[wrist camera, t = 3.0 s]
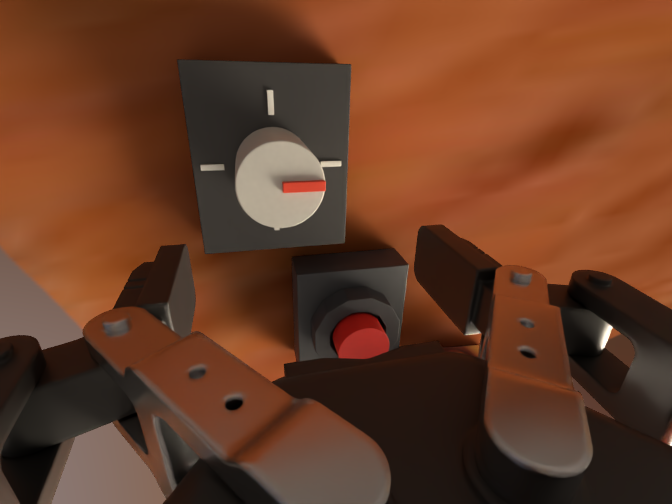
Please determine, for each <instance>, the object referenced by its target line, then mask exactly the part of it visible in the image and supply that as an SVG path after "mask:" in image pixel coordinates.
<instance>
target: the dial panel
mask: <svg viewBox="0 0 672 504" xmlns="http://www.w3.org/2000/svg"><path fill="white" fill-rule="evenodd" d="M177 63H178V70H179V77H180V84H181V91H182V98H183V105H184V112H185V119H186V126H187V133H188V140H189V146H190V153H191V160H192V167H193V174H194V181H195V188H196V195H197V202H198V209H199V216H200V223H201V230H202V237H203V244H204V251H205V254H212V253H225V252H238V251H251V250H264V249H277V248H290V247H303V246H315V245H328V244H341V243H345V228H346V199H347V171H348V142H349V114H350V85H351V64H328V63H292V62H256V61H220V60H185V59H178V60H177ZM266 127H278V128H283V129H286V130H288V131H290V132H292V133H293V134H295V135H296V136H297V137H299V138H300V140H301V141H302V142H303V143H304V144H305V145H306V146H307V148H308V149H309V150H310V151H311V152H312V153H313V154H314V156H315V157H316V158H317V159H318V161H319V162H320V164H321V166H322V169H323V172H324V176H325V181H326V191H325V192H324V196H323V199H322V201H321V203H320V205H319V207H318V209H317V210H316V211H315V212H314V214H313V215H311V216H310V217H309V218H308V219H307V220H305V221H304V222H302V223H300V224H298V225H295V226H291V227H286V228H274V227H269V226H265V225H263V224H260V223H258V222H256V221H255V220H253V219H252V218H251V217H250V216H249V215H247V213H246V212H245V211H244V210H243V208H242V207H241V205H240V203H239V201H238V199H237V196H236V191H235V161H236V155H237V151H238V149H239V147H240V145H241V143H242V142H243V141H244V139H245V138H246V137H247V136H248V135H250V134H251V133H253V132H254V131H256V130H259V129H262V128H266Z"/></svg>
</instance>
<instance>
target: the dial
mask: <svg viewBox="0 0 672 504" xmlns="http://www.w3.org/2000/svg"><path fill="white" fill-rule="evenodd" d="M235 191H236V196H237V199H238V201H239V203H240V205H241V207H242V208H243V210H244V211H245V212H246V213H247V215H249V216H250V217H251V218H252V219H253V220H255V221H256V222H258V223H260V224H263V225H265V226H269V227H274V228H286V227H291V226H295V225H298V224H300V223H302V222H304V221H305V220H307V219H308V218H309V217H310V216H311V215H313V214H314V212H315V211H316V210H317V209H318V207H319V205H320V203H321V201H322V199H323V196H324V192H325V191H326V181H325V176H324V172H323V169H322V166H321V164H320V162H319V161H318V159H317V158H316V157H315V156H314V154H313V153H312V152H311V151H310V150H309V149H308V148H307V146H306V145H305V144H304V143H303V142H302V141H301V140H300V138H299V137H297V136H296V135H295V134H293V133H292V132H290V131H288V130H286V129H283V128H278V127H266V128H262V129H259V130H256V131H254V132H253V133H251V134H250V135H248V136H247V137H246V138H245V139H244V141H243V142H242V143H241V145H240V147H239V149H238V151H237V155H236V161H235Z"/></svg>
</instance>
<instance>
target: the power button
mask: <svg viewBox="0 0 672 504" xmlns="http://www.w3.org/2000/svg"><path fill="white" fill-rule="evenodd" d="M333 343H334V345H335V348H336V351H337V354H338V357H339V358H350V359H368V358H372V357H374V356H377V355H380V354H382V353H385V352H388V350H389V339H388V337H387V335H386V333H385V331H384V330H383V328H382V326H381V324H380V322H379V321H378V319H377V318H376V317H375V316H373V315H371V314H368V313H354V314H351V315H349V316H347V317H345V318H343V319H342V320H341V321H340V322H339V323H338V324H337V326H336V327H335V329H334V332H333Z"/></svg>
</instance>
